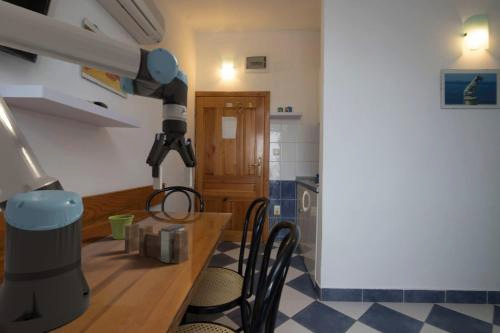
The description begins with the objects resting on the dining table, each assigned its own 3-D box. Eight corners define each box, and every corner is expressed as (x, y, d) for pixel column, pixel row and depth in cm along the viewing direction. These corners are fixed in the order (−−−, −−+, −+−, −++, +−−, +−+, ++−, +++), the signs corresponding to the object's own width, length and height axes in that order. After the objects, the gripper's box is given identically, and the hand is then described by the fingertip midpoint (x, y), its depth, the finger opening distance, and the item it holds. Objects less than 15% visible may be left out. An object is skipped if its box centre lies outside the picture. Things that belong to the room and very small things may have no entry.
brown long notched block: (179, 263, 76) (179, 233, 76) (124, 252, 86) (125, 225, 86) (188, 259, 79) (188, 230, 79) (134, 249, 89) (134, 223, 89)
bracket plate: (168, 263, 75) (169, 229, 75) (160, 261, 77) (161, 228, 77) (184, 255, 82) (184, 224, 82) (176, 254, 83) (176, 223, 83)
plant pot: (104, 241, 98) (105, 219, 98) (111, 235, 107) (112, 215, 107) (130, 240, 100) (131, 218, 100) (135, 234, 109) (136, 214, 109)
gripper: (153, 111, 67) (151, 191, 67) (207, 126, 90) (206, 186, 89) (133, 113, 70) (131, 189, 70) (190, 127, 93) (189, 185, 92)
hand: (173, 187), depth 79 cm, fingers open, 13 cm apart
